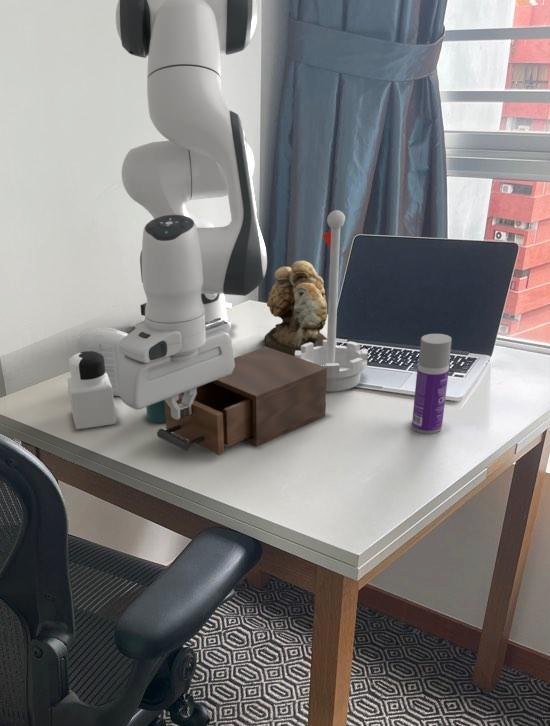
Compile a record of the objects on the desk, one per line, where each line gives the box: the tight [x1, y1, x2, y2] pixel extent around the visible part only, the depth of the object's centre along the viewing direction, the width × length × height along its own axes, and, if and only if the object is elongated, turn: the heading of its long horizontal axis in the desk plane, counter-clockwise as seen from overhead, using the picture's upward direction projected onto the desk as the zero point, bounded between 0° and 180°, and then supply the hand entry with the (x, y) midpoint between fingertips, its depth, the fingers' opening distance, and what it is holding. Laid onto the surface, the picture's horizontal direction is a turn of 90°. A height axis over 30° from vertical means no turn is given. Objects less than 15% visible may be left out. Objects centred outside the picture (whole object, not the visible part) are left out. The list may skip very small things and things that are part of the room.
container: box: [411, 333, 453, 435], centre depth 131 cm, size 5×5×15 cm
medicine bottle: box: [67, 351, 117, 430], centre depth 145 cm, size 7×7×12 cm
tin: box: [145, 400, 166, 424], centre depth 143 cm, size 5×5×15 cm
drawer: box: [156, 382, 253, 456], centre depth 136 cm, size 19×14×7 cm
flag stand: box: [295, 209, 369, 392], centre depth 147 cm, size 13×13×30 cm
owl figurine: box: [263, 260, 328, 356], centre depth 166 cm, size 18×12×17 cm, turn 26°
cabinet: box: [211, 345, 327, 447], centre depth 141 cm, size 16×15×9 cm
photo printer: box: [78, 327, 129, 397], centre depth 155 cm, size 10×4×12 cm, turn 69°
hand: (181, 416), depth 133 cm, fingers closed
